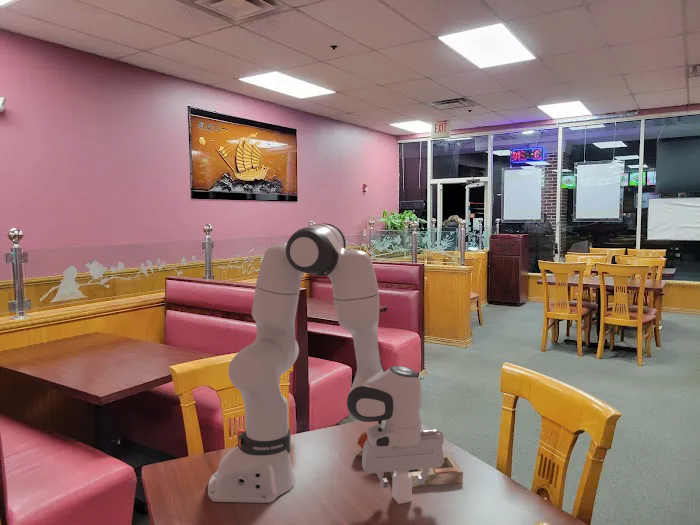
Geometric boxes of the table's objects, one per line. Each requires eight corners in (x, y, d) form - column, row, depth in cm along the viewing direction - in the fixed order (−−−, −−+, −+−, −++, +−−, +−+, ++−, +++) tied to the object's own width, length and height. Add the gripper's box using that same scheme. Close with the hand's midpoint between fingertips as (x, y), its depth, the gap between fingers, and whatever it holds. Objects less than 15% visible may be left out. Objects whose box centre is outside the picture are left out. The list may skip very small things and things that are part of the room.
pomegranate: (364, 471, 147) (391, 448, 148) (348, 451, 146) (375, 429, 147) (360, 461, 154) (386, 439, 155) (345, 442, 154) (371, 420, 155)
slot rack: (396, 488, 134) (397, 476, 134) (387, 468, 144) (387, 457, 144) (462, 482, 137) (463, 470, 137) (449, 463, 147) (449, 452, 146)
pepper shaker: (391, 496, 130) (391, 461, 129) (405, 493, 132) (406, 458, 131) (398, 505, 127) (398, 468, 126) (412, 502, 128) (413, 466, 127)
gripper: (439, 423, 132) (438, 474, 133) (360, 429, 129) (360, 481, 130) (447, 434, 126) (446, 488, 127) (365, 441, 122) (365, 495, 124)
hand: (402, 485), depth 129 cm, fingers open, 8 cm apart
